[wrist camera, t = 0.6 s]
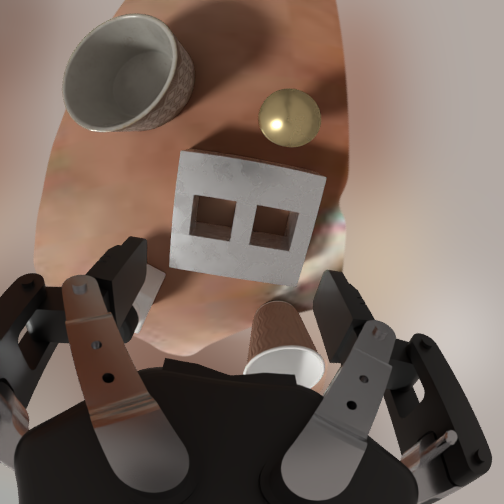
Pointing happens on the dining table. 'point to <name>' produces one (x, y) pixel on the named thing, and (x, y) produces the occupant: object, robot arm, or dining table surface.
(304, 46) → the dining table surface
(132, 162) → the dining table surface
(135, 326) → the medicine bottle
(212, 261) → the jig
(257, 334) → the coffee cup
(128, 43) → the planter
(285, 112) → the brass knob
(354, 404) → the robot arm
